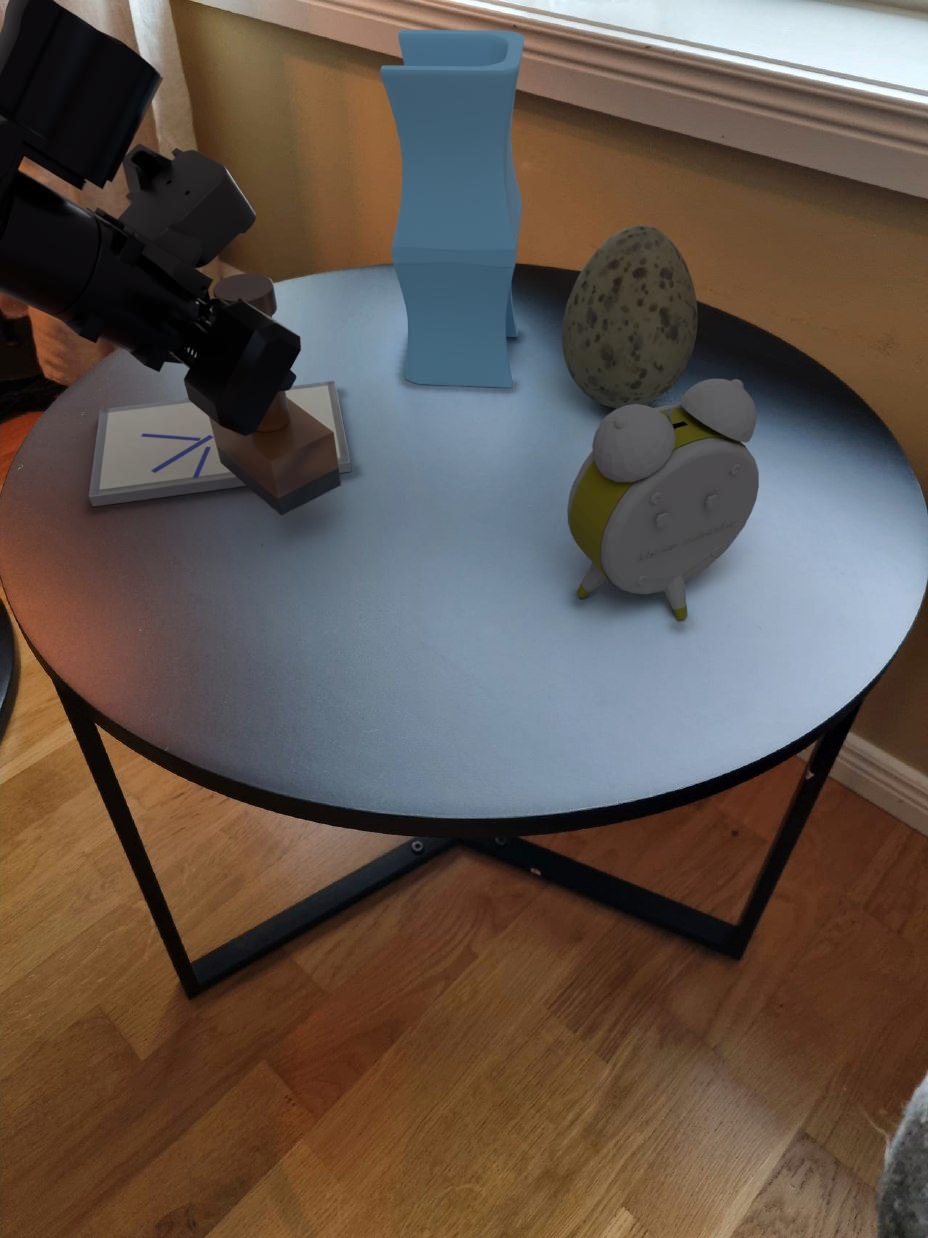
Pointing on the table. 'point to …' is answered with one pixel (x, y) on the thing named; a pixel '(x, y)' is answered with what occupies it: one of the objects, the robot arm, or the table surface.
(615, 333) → the decorative egg
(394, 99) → the vase
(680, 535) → the alarm clock
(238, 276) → the wooden rubber stamp
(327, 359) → the table surface
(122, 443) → the board
